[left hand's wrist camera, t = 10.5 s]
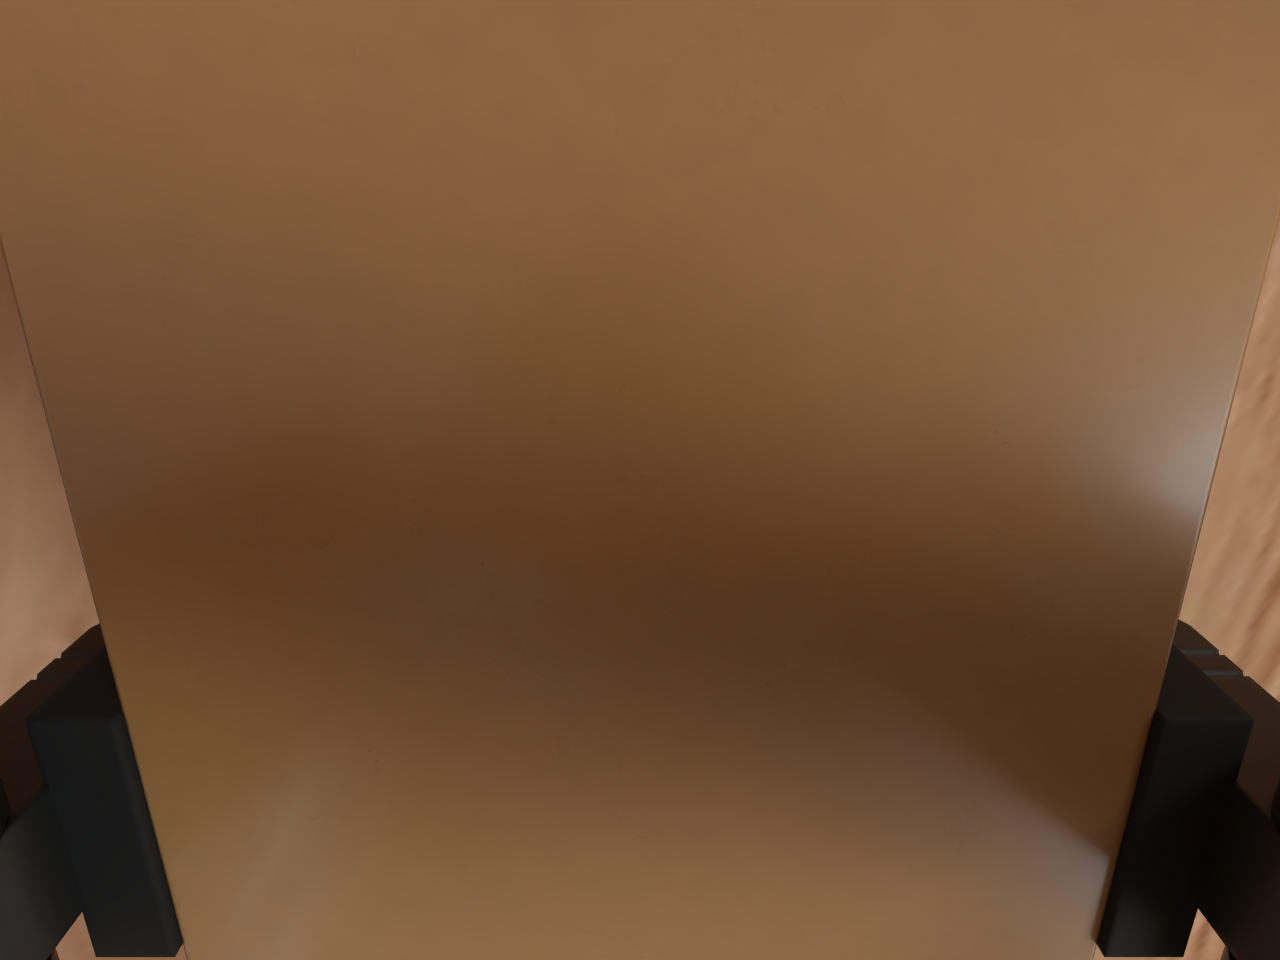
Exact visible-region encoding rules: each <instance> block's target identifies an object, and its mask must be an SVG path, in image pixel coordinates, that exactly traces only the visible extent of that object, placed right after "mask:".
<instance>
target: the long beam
mask: <svg viewBox="0 0 1280 960" xmlns="http://www.w3.org/2000/svg"><path fill="white" fill-rule="evenodd" d="M1279 216H1280V0H0V242H1V246H2V250H3V253H4V257H5V261H6V265H7V269H8V273H9V276H10V280H11V284H12V288H13V292H14V296H15V299H16V303H17V307H18V311H19V315H20V319H21V323H22V326H23V330H24V334H25V338H26V342H27V346H28V349H29V353H30V357H31V361H32V365H33V369H34V372H35V376H36V380H37V384H38V388H39V392H40V396H41V399H42V403H43V407H44V411H45V415H46V419H47V422H48V426H49V430H50V434H51V438H52V442H53V446H54V449H55V453H56V457H57V461H58V465H59V469H60V472H61V476H62V480H63V484H64V488H65V492H66V495H67V499H68V503H69V507H70V511H71V515H72V519H73V522H74V526H75V530H76V534H77V538H78V542H79V545H80V549H81V553H82V557H83V561H84V565H85V568H86V572H87V576H88V580H89V584H90V588H91V592H92V595H93V599H94V603H95V607H96V611H97V615H98V618H99V622H100V626H101V630H102V634H103V638H104V641H105V645H106V649H107V653H108V657H109V661H110V665H111V668H112V672H113V676H114V680H115V684H116V688H117V691H118V695H119V699H120V703H121V707H122V711H123V714H124V718H125V722H126V726H127V730H128V734H129V738H130V741H131V745H132V749H133V753H134V757H135V761H136V764H137V768H138V772H139V776H140V780H141V784H142V787H143V791H144V795H145V799H146V803H147V807H148V811H149V814H150V818H151V822H152V826H153V830H154V834H155V837H156V841H157V845H158V849H159V853H160V857H161V861H162V864H163V868H164V872H165V876H166V880H167V884H168V887H169V891H170V895H171V899H172V903H173V907H174V910H175V914H176V918H177V922H178V926H179V930H180V934H181V937H182V941H183V945H184V949H185V953H186V957H187V960H1093V957H1094V953H1095V949H1096V945H1097V941H1098V937H1099V934H1100V930H1101V926H1102V922H1103V918H1104V914H1105V910H1106V906H1107V902H1108V898H1109V894H1110V890H1111V886H1112V882H1113V878H1114V874H1115V870H1116V866H1117V862H1118V858H1119V854H1120V850H1121V846H1122V842H1123V838H1124V834H1125V830H1126V826H1127V822H1128V818H1129V814H1130V810H1131V806H1132V802H1133V798H1134V794H1135V790H1136V786H1137V782H1138V778H1139V774H1140V770H1141V766H1142V762H1143V758H1144V754H1145V750H1146V746H1147V742H1148V738H1149V734H1150V730H1151V726H1152V722H1153V718H1154V714H1155V710H1156V706H1157V702H1158V698H1159V694H1160V690H1161V686H1162V682H1163V678H1164V674H1165V670H1166V666H1167V662H1168V658H1169V654H1170V650H1171V646H1172V642H1173V638H1174V634H1175V630H1176V626H1177V622H1178V618H1179V614H1180V611H1181V607H1182V603H1183V599H1184V595H1185V591H1186V587H1187V583H1188V579H1189V575H1190V571H1191V567H1192V563H1193V559H1194V555H1195V551H1196V547H1197V543H1198V539H1199V535H1200V531H1201V527H1202V523H1203V519H1204V515H1205V511H1206V507H1207V503H1208V499H1209V495H1210V491H1211V487H1212V483H1213V479H1214V475H1215V471H1216V467H1217V463H1218V459H1219V455H1220V451H1221V447H1222V443H1223V439H1224V435H1225V431H1226V427H1227V423H1228V419H1229V415H1230V411H1231V407H1232V403H1233V399H1234V395H1235V391H1236V387H1237V383H1238V379H1239V375H1240V371H1241V367H1242V363H1243V359H1244V355H1245V351H1246V347H1247V343H1248V339H1249V335H1250V331H1251V327H1252V323H1253V319H1254V315H1255V311H1256V307H1257V303H1258V299H1259V295H1260V291H1261V288H1262V284H1263V280H1264V276H1265V272H1266V268H1267V264H1268V260H1269V256H1270V252H1271V248H1272V244H1273V240H1274V236H1275V232H1276V228H1277V224H1278V220H1279Z"/></svg>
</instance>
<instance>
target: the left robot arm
mask: <svg viewBox="0 0 1280 960" xmlns="http://www.w3.org/2000/svg"><path fill="white" fill-rule="evenodd" d="M1218 652H1219V650H1218V649H1217V648H1216V647H1214V646H1213V645H1212V644H1211V643H1210V642H1209V641H1207V640H1206V639H1205V638H1204V637H1203V636H1202V635H1200V634H1199V633H1198V632H1197V631H1196V630H1195V629H1193V628H1192V627H1191V626H1190V625H1188V624H1186V623H1184V622H1182V621H1180V620H1179V619H1178V622H1177V626H1176V630H1175V634H1174V638H1173V642H1172V646H1171V650H1170V654H1169V658H1168V662H1167V666H1166V670H1165V674H1164V678H1163V682H1162V686H1161V690H1160V694H1159V698H1158V702H1157V706H1156V710H1155V714H1154V718H1153V722H1152V726H1151V730H1150V734H1149V738H1148V742H1147V746H1146V750H1145V754H1144V758H1143V762H1142V766H1141V770H1140V774H1139V778H1138V782H1137V786H1136V790H1135V794H1134V798H1133V802H1132V806H1131V810H1130V814H1129V818H1128V822H1127V826H1126V830H1125V834H1124V838H1123V842H1122V846H1121V850H1120V854H1119V858H1118V862H1117V866H1116V870H1115V874H1114V878H1113V882H1112V886H1111V890H1110V894H1109V898H1108V902H1107V906H1106V910H1105V914H1104V918H1103V922H1102V926H1101V930H1100V934H1099V937H1098V941H1097V945H1098V947H1099V949H1100V950H1101V952H1102V954H1103V955H1104V957H1183V956H1184V952H1185V949H1186V946H1187V942H1188V939H1189V936H1190V933H1191V929H1192V926H1193V923H1194V919H1195V916H1196V913H1197V909H1199V910H1200V911H1201V913H1202V914H1203V915H1204V917H1205V918H1206V919H1207V921H1208V922H1209V923H1210V925H1211V926H1212V928H1213V929H1214V930H1215V932H1216V933H1217V934H1218V936H1219V937H1220V938H1221V940H1222V941H1223V942H1224V944H1225V948H1224V951H1223V954H1222V957H1221V960H1280V703H1279V702H1278V701H1277V700H1276V699H1275V698H1274V697H1272V696H1271V695H1270V694H1269V693H1268V692H1267V691H1265V690H1264V689H1263V688H1262V687H1261V686H1260V685H1258V684H1257V683H1256V682H1255V681H1254V680H1253V679H1252V678H1250V677H1249V676H1243V671H1242V670H1241V669H1240V668H1239V667H1238V666H1236V665H1235V664H1234V663H1233V662H1232V661H1231V660H1229V659H1228V658H1227V657H1226V656H1225V655H1219V653H1218ZM81 912H83V915H84V919H85V922H86V925H87V929H88V932H89V935H90V938H91V942H92V945H93V948H94V952H95V955H96V957H175V956H176V954H177V952H178V951H179V949H180V947H181V946H182V944H183V941H182V937H181V934H180V930H179V926H178V922H177V918H176V914H175V910H174V907H173V903H172V899H171V895H170V891H169V887H168V884H167V880H166V876H165V872H164V868H163V864H162V861H161V857H160V853H159V849H158V845H157V841H156V837H155V834H154V830H153V826H152V822H151V818H150V814H149V811H148V807H147V803H146V799H145V795H144V791H143V787H142V784H141V780H140V776H139V772H138V768H137V764H136V761H135V757H134V753H133V749H132V745H131V741H130V738H129V734H128V730H127V726H126V722H125V718H124V714H123V711H122V707H121V703H120V699H119V695H118V691H117V688H116V684H115V680H114V676H113V672H112V668H111V665H110V661H109V657H108V653H107V649H106V645H105V641H104V638H103V634H102V630H101V626H100V624H98V625H96V626H94V627H92V628H90V629H89V630H88V631H87V632H85V633H84V634H83V635H82V636H81V637H80V638H79V639H77V640H76V641H75V642H74V643H73V644H72V645H70V646H69V647H68V648H67V649H66V650H65V651H64V652H62V653H61V658H55V659H54V660H53V661H52V662H51V663H50V664H49V665H47V666H46V667H45V668H44V669H43V670H42V671H41V672H39V673H38V674H37V679H36V680H30V681H29V682H28V683H27V684H26V685H24V686H23V687H22V688H21V689H20V690H19V691H17V692H16V693H15V694H14V695H13V696H12V697H11V698H9V699H8V700H7V701H6V702H5V703H4V704H2V705H1V706H0V960H59V957H58V954H57V951H56V946H57V945H58V944H59V942H60V941H61V939H62V938H63V937H64V935H65V934H66V933H67V931H68V930H69V929H70V927H71V926H72V924H73V923H74V922H75V920H76V919H77V918H78V916H79V915H80V914H81Z"/></svg>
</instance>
